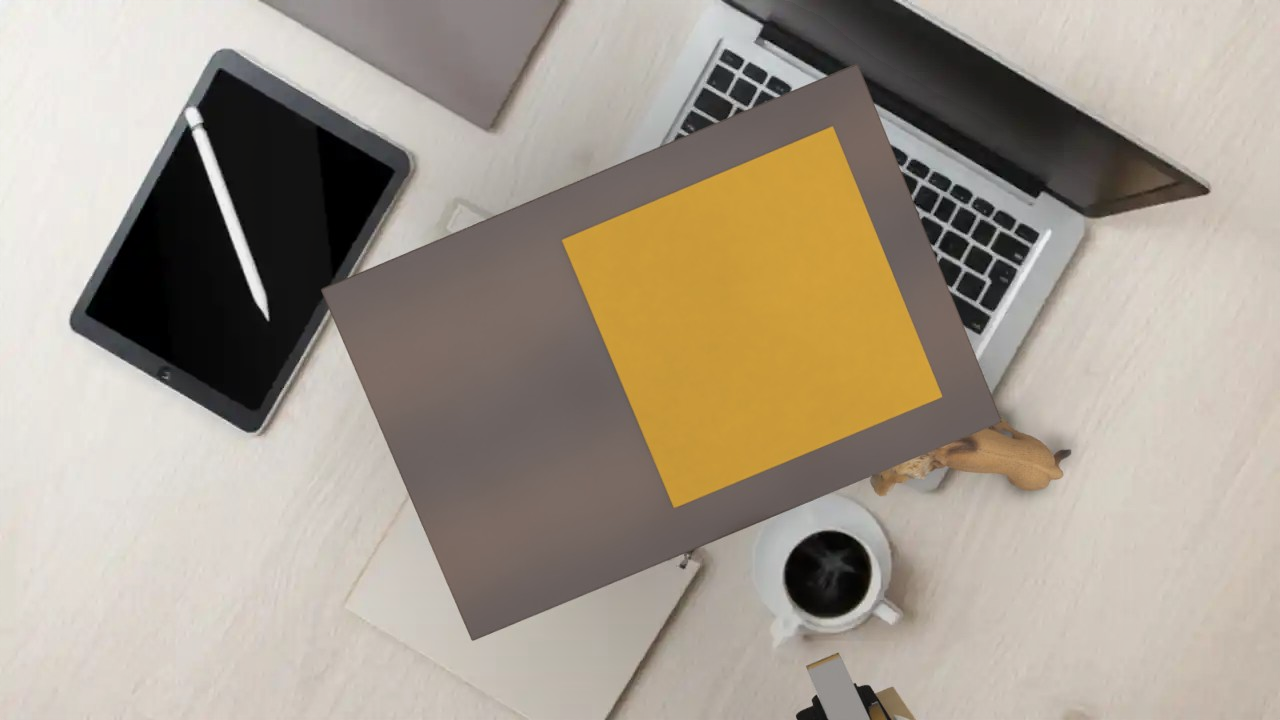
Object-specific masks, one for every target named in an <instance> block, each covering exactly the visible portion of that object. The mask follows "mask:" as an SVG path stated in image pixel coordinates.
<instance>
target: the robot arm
mask: <svg viewBox="0 0 1280 720" xmlns="http://www.w3.org/2000/svg"><path fill="white" fill-rule="evenodd" d="M805 668H806V671H807V674H808V676H809V679H810V681H811V684H812V686H813V688H814V691H815V693H816V694H815V695H814V696H813V697H812V698H811V704H812V705H810V706H808V707H806V708H803V709H801V710H799V711H798V712H797V713H796V715H795V719H796V720H891V718H890V716H889V715H888V713H887V712H886V710H885V708H884V707H883V705H882V704H881V702H880V701H879V699H878V697H877V696H876V694H875V693H876V692H875V690H873V687H872V686H871V685H869V684H863V685H859V686H858V685H857V683H856V682H853V680H852V677H851V676H850V674H849V671H848V670H847V667H846V665H845V662H844V660H843V659H842V657H841V654H840V653H839V652H836V653H833V654H831V655H828V656H826V657H824V658H821V659H819V660H816V661H814V662H812V663H809V664H807V665H805ZM893 718H894V720H909V719H907V718H905V717H902V716H898V715H893Z"/></svg>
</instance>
